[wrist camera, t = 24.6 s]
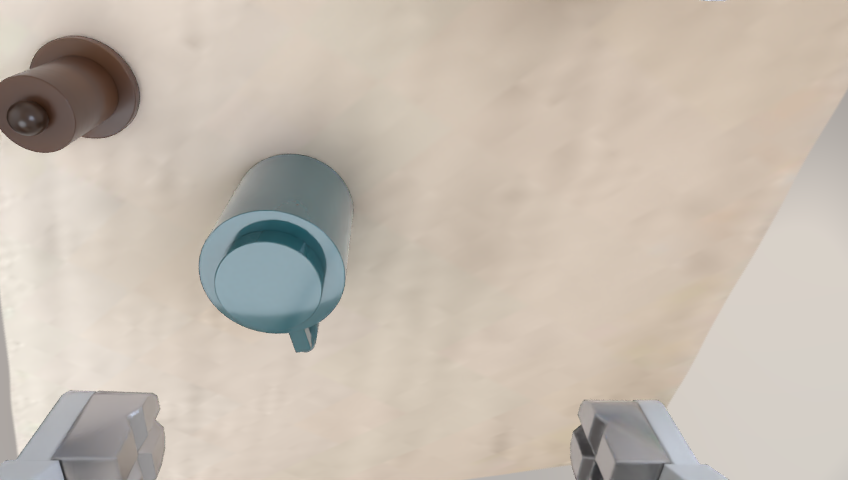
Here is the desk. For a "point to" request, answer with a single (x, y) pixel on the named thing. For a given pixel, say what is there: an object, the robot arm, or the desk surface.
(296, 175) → the teal mug
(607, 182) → the desk surface
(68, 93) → the lid
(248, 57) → the desk surface
